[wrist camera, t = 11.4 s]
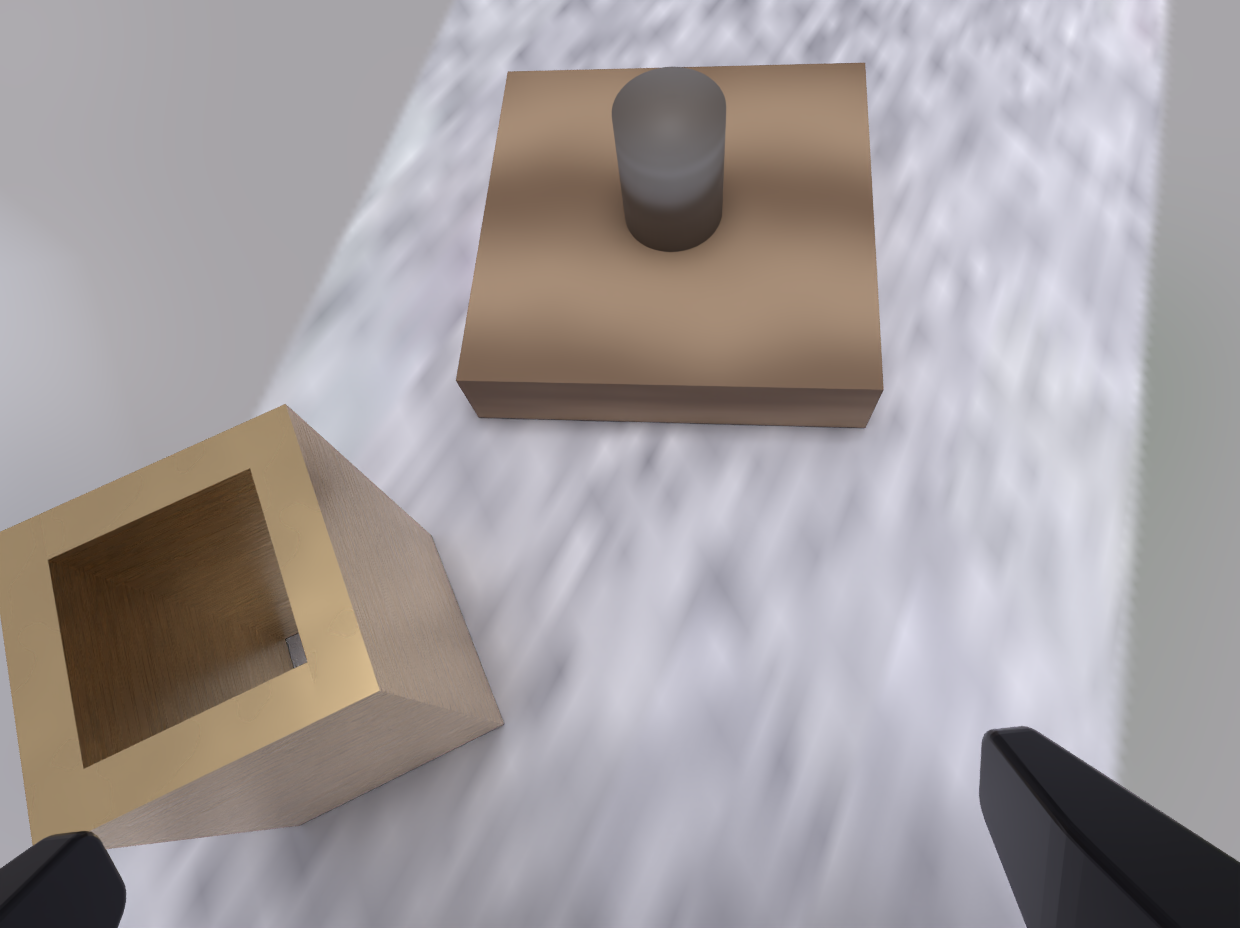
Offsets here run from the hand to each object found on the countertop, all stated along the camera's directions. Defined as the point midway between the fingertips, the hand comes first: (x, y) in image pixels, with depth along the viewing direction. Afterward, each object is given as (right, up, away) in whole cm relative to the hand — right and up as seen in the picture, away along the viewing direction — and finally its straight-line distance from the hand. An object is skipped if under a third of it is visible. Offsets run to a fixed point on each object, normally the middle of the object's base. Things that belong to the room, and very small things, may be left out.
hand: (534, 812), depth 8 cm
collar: (-6, -2, +14) cm, 16 cm away
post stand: (+3, +10, +19) cm, 21 cm away
